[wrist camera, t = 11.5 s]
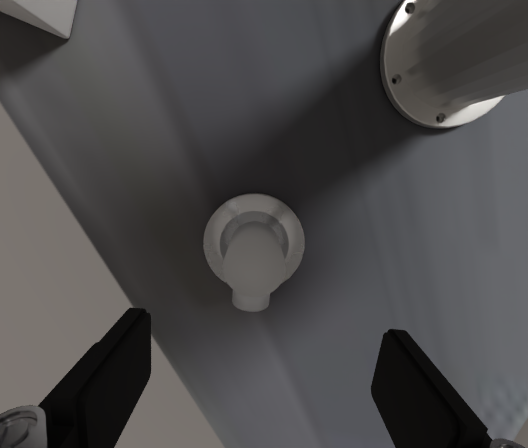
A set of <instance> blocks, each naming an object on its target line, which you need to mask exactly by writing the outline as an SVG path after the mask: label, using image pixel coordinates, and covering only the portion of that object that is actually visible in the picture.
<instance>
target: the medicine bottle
mask: <svg viewBox="0 0 528 448" xmlns="http://www.w3.org/2000/svg"><path fill="white" fill-rule="evenodd" d="M77 1H78V0H0V11H1V12H3V13H5V14H8V15H10V16H12V17H15V18H17V19H19V20H22V21H24V22H27V23H29V24H31V25H34V26H36V27H38V28H41V29H43V30H45V31H48V32H50V33H52V34H55V35H57V36H60V37H62V38H65V39H68V38H69V37H70V34H71V29H72V24H73V20H74V15H75V10H76V6H77Z"/></svg>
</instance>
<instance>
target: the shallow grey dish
mask: <svg viewBox="0 0 528 448" xmlns="http://www.w3.org/2000/svg"><path fill="white" fill-rule="evenodd" d="M251 221H259V222H263V223H265V224H267V225H269V226H270V227H272V228H273V230H274V231H275V232H276V234H277V236H278V239H279V242H280V245H281V249H282V252H283V255H284V258H285V263H286V272H285V276H284V279H283V281H282V283H283V282H285V281H286V280H287V279H288V278H290V277H291V276H292V274H293V273H294V272H295V271H296V269H297V268H298V266H299V264H300V262H301V260H302V257H303V253H304V247H305V239H304V232H303V229H302V226H301V223H300V221H299V219H298V218H297V216H296V215H295V214H294V212H293V211H292V210H291V209H290V208H289V207H288V206H287V205H286V204H285V203H284V202H282V201H281V200H279V199H278V198H275V197H273V196H271V195H267V194H263V193H245V194H241V195H238V196H235V197H233V198H231V199H229V200H227V201H226V202H225V203H223V204H222V205H221V206H220V207H219V208H218V209H217V210H216V211H215V213H214V214H213V215H212V216H211V218H210V220H209V222H208V224H207V226H206V229H205V233H204V239H203V247H204V253H205V257H206V260H207V262H208V264H209V266H210V268H211V269H212V271H213V272H214V273H215V274H216V276H217V277H218V278H220V279H221V280H222V281H223V282H225V283H226V284H228V283H227V282H226V280H225V277H224V274H223V261H224V258H225V255H226V252H227V249H228V246H229V243H230V240H231V237H232V235H233V233H234V232H235V230H236V229H237V228H238V227H239V226H241V225H242V224H244V223H247V222H251ZM282 283H281V284H282Z"/></svg>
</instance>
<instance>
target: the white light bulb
mask: <svg viewBox="0 0 528 448" xmlns="http://www.w3.org/2000/svg"><path fill="white" fill-rule="evenodd" d="M285 272H286V263H285V258H284V255H283V252H282V249H281V245H280V242H279V239H278V236H277V234H276V232H275V231H274V230H273V228H272V227H270V226H269V225H267V224H265V223H263V222H259V221H251V222H247V223H244V224H242V225H241V226H239V227H238V228H237V229H236V230H235V232H234V233H233V235H232V237H231V240H230V243H229V246H228V249H227V252H226V255H225V258H224V261H223V274H224V277H225V280H226V282H227V283H228V285H229V286H230V287H231V288H232V289H233V296H232V303H233V305H234V306H235V307H236V308H238V309H240V310H243V311H248V312H257V311H262V310H264V309H266V308H267V307H268V306H269V299H270V293H271V292H273V291H274V290H275V289H277V288H278V286H279V285H280V284H281V283H282V281H283V279H284V276H285Z"/></svg>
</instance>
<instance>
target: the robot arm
mask: <svg viewBox="0 0 528 448" xmlns="http://www.w3.org/2000/svg"><path fill="white" fill-rule="evenodd" d="M380 72H381V78H382V83H383V86H384V89H385V91H386V94H387V96H388V98H389V100H390V101H391V103H392V104H393V106H394V107H395V108H396V109H397V110H398V112H399V113H400V114H401V115H402V116H404V117H405V118H407V119H408V120H410V121H411V122H413V123H415V124H418V125H420V126H423V127H428V128H434V129H441V128H451V127H456V126H461V125H464V124H467V123H469V122H472V121H474V120H476V119H478V118H480V117H481V116H483V115H485V114H486V113H487V112H489V111H490V110H491V109H492V108H494V107H495V106H496V105H497V104H498V103H499V102H500V101H501V100H502V99H503V98H504V96H505V95H508V94H511V93H515V92H518V91H522V90H525V89H528V0H404V1H403V2H402V3H401V4H400V6H399V7H398V8H397V10H396V11H395V13H394V14H393V16H392V18H391V20H390V22H389V24H388V26H387V29H386V31H385V34H384V37H383V41H382V46H381V52H380ZM392 80H393V81H394V84H393V83H392ZM150 374H151V315H150V313H147V312H146V310H145V309H140V308H129V309H128V310H127V311H126V312H125V313H124V314H123V316H122V317H121V318H120V319H119V320H118V321H117V322H116V323H115V325H114V326H113V327H112V328H111V329H110V330H109V331H108V332H107V333H106V335H105V336H104V337H103V338H102V339H101V340H100V341H99V342H97V343H95V344H94V345H93V346H92V347H91V348H90V349H89V350H88V351H87V352H86V353H85V354H84V356H83V357H82V358H81V359H80V360H79V361H78V362H77V363H76V364H75V366H74V367H73V368H72V369H71V370H70V371H69V372H68V373H67V374H66V375H65V377H64V378H63V379H62V380H61V381H60V382H59V383H58V384H57V385H56V386H55V388H54V389H53V390H52V391H51V392H50V393H49V394H48V395H47V397H45V399H44V400H43V401H42V402H41V403H40V404H39V405H38V406H33V405H28V406H20V407H17V408H13V409H10V410H8V411H6V412H4V413H2V414H0V448H114V447H115V445H116V443H117V441H118V439H119V437H120V435H121V433H122V431H123V429H124V427H125V425H126V423H127V421H128V419H129V418H130V415H131V413H132V412H133V409H134V408H135V406H136V404H137V402H138V400H139V398H140V396H141V394H142V392H143V390H144V388H145V386H146V384H147V382H148V380H149V378H150ZM371 394H372V397H373V400H374V402H375V404H376V406H377V408H378V410H379V413H380V415H381V417H382V419H383V421H384V423H385V426H386V428H387V430H388V432H389V434H390V436H391V439H392V441H393V443H394V445H395V447H396V448H525V447H523V446H522V445H520V444H517V443H515V442H513V441H510V440H506V439H494V440H492V439H491V438H490V437H489V435H488V434H487V430H488V429H487V427H486V426H485V425H484V424H483V423H482V421H481V420H480V419H479V418H478V417H477V415H476V414H475V413H474V412H473V411H472V409H471V408H470V407H469V406H468V405H467V403H466V402H465V401H464V400H463V399H462V397H461V396H460V395H459V394H458V393H457V391H456V390H455V389H454V388H453V387H452V385H451V384H450V383H449V382H448V381H447V379H446V378H445V377H444V376H443V375H442V373H441V372H440V371H439V370H438V369H437V367H436V366H435V365H434V364H433V363H432V361H431V360H430V359H429V358H428V357H427V355H426V354H425V353H424V352H423V351H422V349H421V348H420V347H419V346H418V345H417V343H416V342H415V341H414V340H413V339H412V337H411V336H410V335H409V334H408V333H407V332H406V331H405V330H396V329H389V330H388V332H387V333H384V335H383V339H382V343H381V347H380V351H379V356H378V360H377V364H376V368H375V372H374V377H373V381H372V385H371Z"/></svg>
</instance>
